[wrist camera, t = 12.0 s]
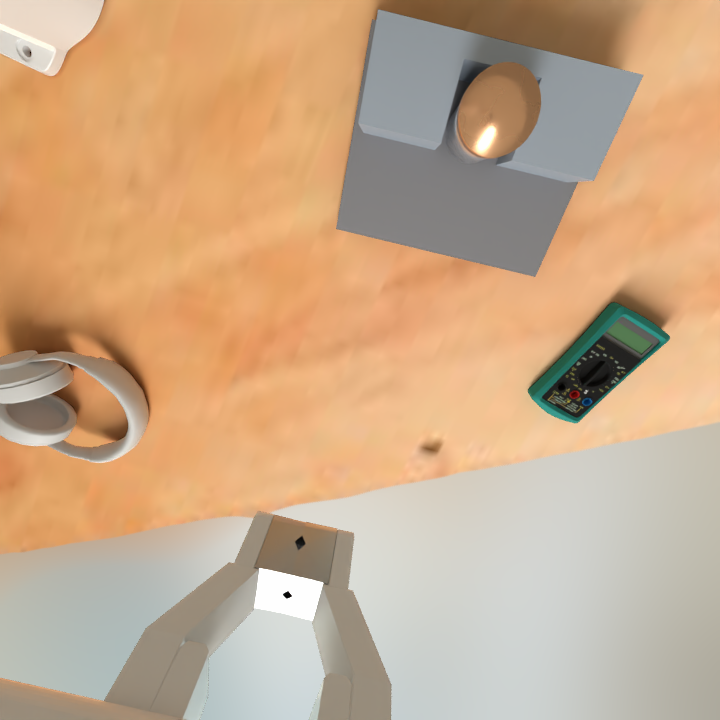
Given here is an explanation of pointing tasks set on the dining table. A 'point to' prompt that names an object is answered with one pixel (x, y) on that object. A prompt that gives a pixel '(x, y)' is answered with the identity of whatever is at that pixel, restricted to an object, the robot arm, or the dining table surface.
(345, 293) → the dining table surface
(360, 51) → the dining table surface
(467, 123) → the lidded glass jar
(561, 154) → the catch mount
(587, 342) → the digital multimeter
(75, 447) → the headphones
